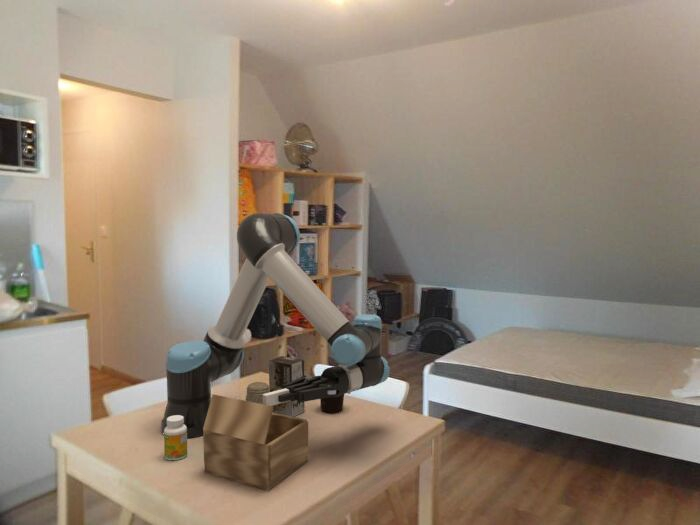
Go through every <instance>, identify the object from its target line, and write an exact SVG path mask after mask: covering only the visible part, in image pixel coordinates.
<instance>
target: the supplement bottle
mask: <svg viewBox="0 0 700 525" xmlns="http://www.w3.org/2000/svg"><path fill="white" fill-rule="evenodd" d="M183 423H184V417H183V416H181V415H174V416H170V417H168V418H167V425H168V426H167V427H166V428H165V429H164V434H163V438H164V439H163V441H164V444H163V448H164V449H163V450H164V451H163V452H164V459H165V460H167V459H168V460H167V461H171V460H175V461H180V459H181V460H182V459H185V458H187V455H188V438H187V427H186V425H184V424H183Z"/></svg>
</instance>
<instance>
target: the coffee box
mask: <svg viewBox="0 0 700 525" xmlns="http://www.w3.org/2000/svg"><path fill="white" fill-rule="evenodd" d="M304 375H305V360H304V359H301V358H296V357H290V356H289V357H288V356H283V355H281V356H277V357H275V358H273V359H270V360H268V382H269V383H268V385H269V387H270V392H273V391H277V390H281V389H282V385H283V384H286V383H288V382H291V381H293V380H296V379H299V378H300V377H302V376H304ZM273 407H274V408H273V413H277V414H282V415H287V416H292V417H296V416H298V415H300V414H302V413H303V414H304V412H305V402H300V403H299V402H297V400H296V401H291V400H289V401H287V402H284V403H280V404H277V405H273Z"/></svg>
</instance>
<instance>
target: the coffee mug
mask: <svg viewBox="0 0 700 525" xmlns="http://www.w3.org/2000/svg"><path fill="white" fill-rule="evenodd" d="M344 399H345V394H344V395H340V396H337V397H330V398H322V399H319V400H320V408H321V412H322V413H324V414H327V415H328V414H329V415H334V414H336V413H337V414H339V412H340V413H342V412H343V407H344ZM341 411H342V412H341Z"/></svg>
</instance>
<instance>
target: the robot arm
mask: <svg viewBox="0 0 700 525" xmlns="http://www.w3.org/2000/svg"><path fill="white" fill-rule="evenodd" d="M300 235H301V233H300V229H299V227H298V224H297V223H296V221H295V220H294V219H293V218H292V217H290V216H289V215H286V214H282V213H279V212H273V213H262V212H261V213H260V212H258V213H253V214H250V215H247V216H246V217H244V219H243V220H242V221H241V222H240V224H239V225H238V227H237V230H236V239H237V244H238V246H239V249H240V251H241V253H242V255H243V256H244V257H245V258H246V259H245V260H244V263H243V264H242V267H241V268H240V271H239V273H238V276H237V278H236V280H235V282H234V284H233V287H232V290H231V291H230V294H229V296H228V298H227V300H226V302H225V304H224V307H223V309H222V311H221V313H220V315H219V318H218V320H217V322H216V324H215V325H213V326H210V327H209V328H208V329H207V332H206V334H205V336H204V338H203V340H188V341H184V342H180V343H176V344H175V345H173V346H172V347H170V348H169V350H167V353H166V362H165V367H166V393H167V395H166V396H167V398H166V399H167V403H166V407H165V410H164V414H163V418H162V420H161V425H160V426H161V427H160V428H161V433H162V432H163V433H164V429H165V428H166V427H167V426H168V425H167V418H168V417H170V416H174V415H181V416H183V417H184V423H183V424H184V425H186V427H187V439H189V438H195V437H199V436H200V437H202V436H203V427H204V424H205V420H206V416H207V413H208V409H209V405H210V402H211V398H212V393H211V392H212V383H213V382H215V381H217V380H219V379H221V378H224V377H225V376H228V375H230V374H232V373H234V372H235V371H236V370H237V369H238V368H239V367H240V366H241V364H243V361H244V357H245V350H244V349H243V348H244V347H245V344H246V343H245V339H244V335H245V333H246V330H247V328H248V326H249V324H250V322H251V320H252V318H253V316H254V313H255V311H256V309H257V307H258V304H259V303H260V300H261V298H262V296H263V294H264V292H265V290H266V289H267V288H266V287H267V285H268V283H269V282H270V280H271V281H272V282H273V283H274V284H275V285H276V287H277V288H278V289H279V290H280V291H281V292H282V293H283V295H284V296H285V297H287V299H288V300H289V301H290V302H291V303H292V304H293V305H294V306H295V307H296V309H297V310H298V311H299V312H300V313H301V314H302V316H304V318H305V319H306V320H307V321H308V323H310V324H311V325H312V327H313V328H314V329H315V330H316V331H317V332H318V334H320V336H321V337H323V339H324V340H325V341H326V342H327V343H328V344H329V345H330V347H331V349H330V350H331V355H332V358H333V360H334V361H335V362H336V363H337V364H338V365H334V366H331V367H327V368H325V369H324V370H323V371H322V373H321V374H320V375H314V376H313V377H311V378H308V377H307V375H305V374H304V376H302V377H300V378H299V379H296V380H293V381H291V382H288V383H286V384H283V385H282V389H281V390H277V391H273V392H269V393H266V394H263V405H268V406H273V405H277V404H280V403H284V402H287V401H289V400H291V401H296V400H297V402H299V403H300V402H304V403H305V402H309V401H316V400H317V401H318V400H320V399H322V398H330V397H337V396H340V395H344V396H345V395H346V394H348V395H350V394H351V393H352V392H353V393H354V392H356V391H359V390H362V389H366V388H370V387H375V386H378V385H380V384H382V383H384V382H386V381H387V379H388V378H389V377H390V374H391V373H390V372H391V369H390V366H389V362H388V361H387V359H386V358H385V357H383V356H382V331H383V327H382V319H381V317H380V316H378V315H376V314H358V315H356V316H354V318H353V324H352V323H351V322H350V321H349V320H348V318H347V317H346V316H345V315H344V314H343V313H342V312H341V310H339V309H338V308H337V307H336V305H335V304H334V303H333V302H332V300H330V299H329V298H328V296H326V294H325V293H324V292H323V291H322V290H321V289H320V288H319V287H318V286H317V284H316V283H314V280H312V279H311V278H310V277H309V275H307V273H306V272H305V271H304V270H303V269H302V268H301V267H300V265H298V263H296V261H294V259H293V258H292V257H291V256H290V255H289V254H290V253H292V252H293V251H294V250H295V249H296V248H297V247H298V246H299V243H300V240H301V239H300V238H301V236H300ZM163 433H162V434H163Z"/></svg>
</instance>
